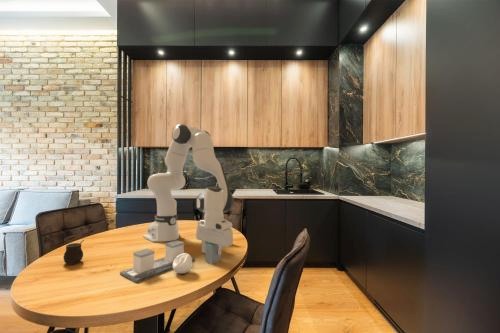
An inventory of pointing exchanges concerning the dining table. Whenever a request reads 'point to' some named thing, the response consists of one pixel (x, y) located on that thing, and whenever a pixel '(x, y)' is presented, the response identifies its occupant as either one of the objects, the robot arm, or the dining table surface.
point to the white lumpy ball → (182, 263)
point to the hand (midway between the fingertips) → (213, 252)
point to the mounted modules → (146, 257)
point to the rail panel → (159, 268)
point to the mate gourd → (73, 253)
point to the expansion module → (212, 253)
